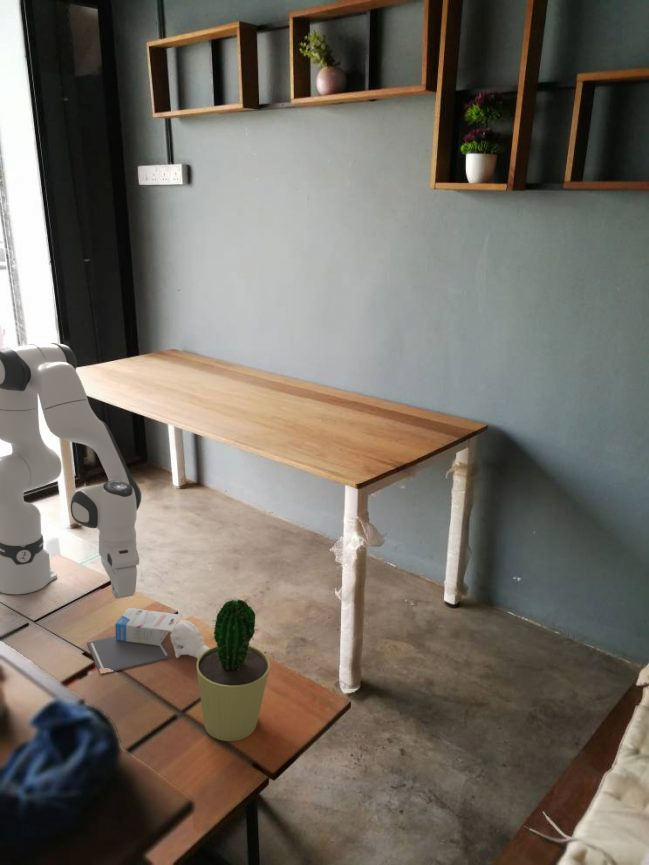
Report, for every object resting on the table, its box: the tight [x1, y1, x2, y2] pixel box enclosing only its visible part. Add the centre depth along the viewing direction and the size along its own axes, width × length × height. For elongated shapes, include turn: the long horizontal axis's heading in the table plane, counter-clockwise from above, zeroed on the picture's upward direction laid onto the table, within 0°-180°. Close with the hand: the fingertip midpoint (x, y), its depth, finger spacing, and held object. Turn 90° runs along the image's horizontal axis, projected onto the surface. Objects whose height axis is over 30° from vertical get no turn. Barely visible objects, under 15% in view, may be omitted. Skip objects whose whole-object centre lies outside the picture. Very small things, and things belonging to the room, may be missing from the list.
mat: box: [86, 635, 172, 673], centre depth 172 cm, size 14×17×1 cm
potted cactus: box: [196, 597, 271, 742], centre depth 145 cm, size 15×15×30 cm
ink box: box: [114, 607, 183, 646], centre depth 177 cm, size 8×5×15 cm
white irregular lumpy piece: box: [169, 619, 211, 659], centre depth 170 cm, size 6×8×12 cm
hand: (116, 595), depth 175 cm, fingers closed
